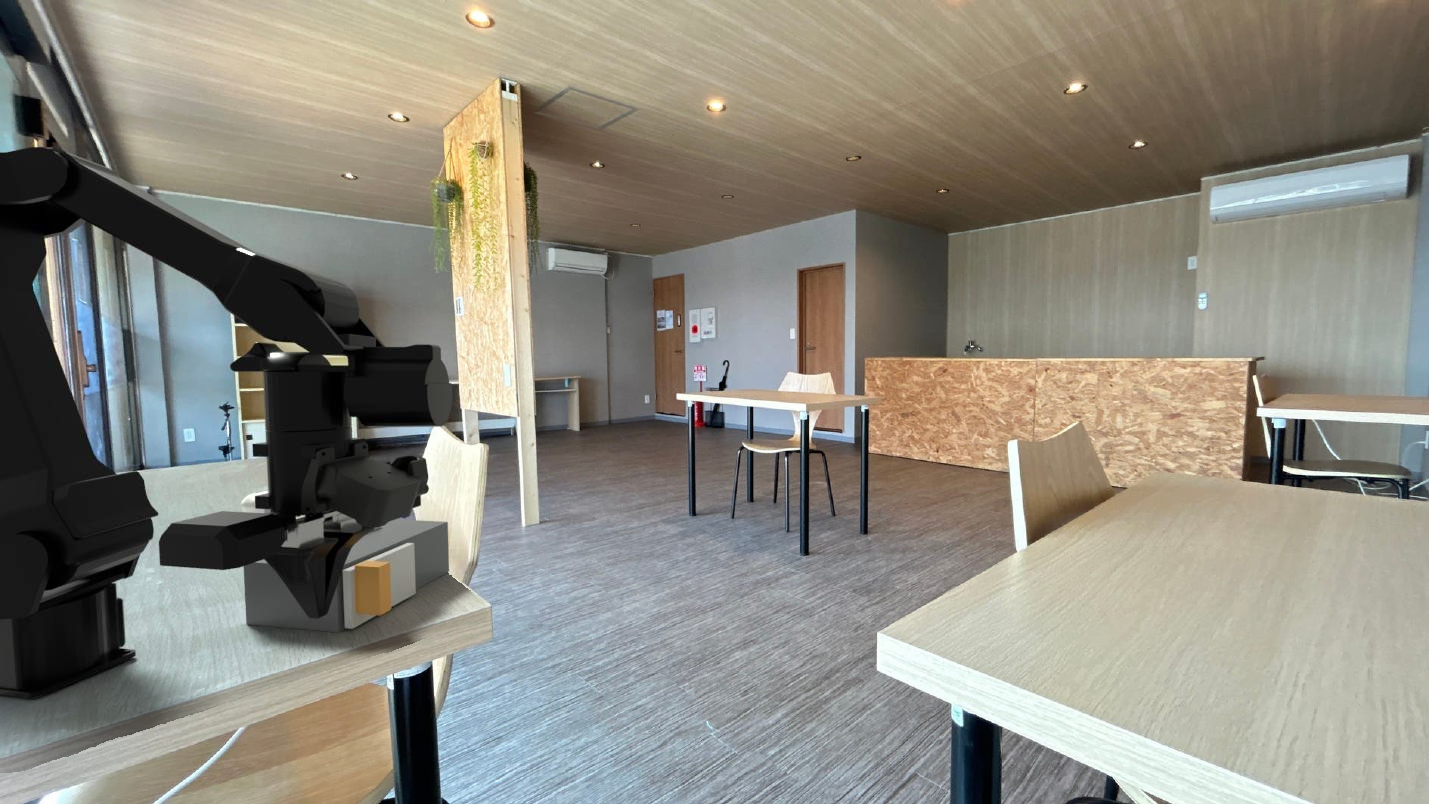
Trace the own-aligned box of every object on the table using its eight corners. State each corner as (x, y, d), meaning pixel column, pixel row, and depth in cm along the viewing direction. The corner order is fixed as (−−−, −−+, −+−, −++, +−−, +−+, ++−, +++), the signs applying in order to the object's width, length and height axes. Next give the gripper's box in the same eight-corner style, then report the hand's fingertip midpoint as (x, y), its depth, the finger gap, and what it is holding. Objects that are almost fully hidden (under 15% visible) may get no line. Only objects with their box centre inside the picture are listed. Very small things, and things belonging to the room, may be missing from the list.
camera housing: (339, 632, 52) (336, 561, 52) (246, 624, 54) (243, 555, 53) (456, 568, 69) (454, 514, 69) (382, 563, 71) (380, 510, 70)
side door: (376, 630, 52) (374, 569, 51) (344, 628, 52) (342, 567, 52) (436, 594, 60) (435, 541, 60) (409, 592, 60) (407, 540, 60)
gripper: (290, 445, 36) (301, 688, 36) (469, 420, 54) (473, 581, 55) (146, 441, 37) (159, 672, 38) (366, 418, 56) (371, 574, 57)
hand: (317, 616), depth 47 cm, fingers closed
